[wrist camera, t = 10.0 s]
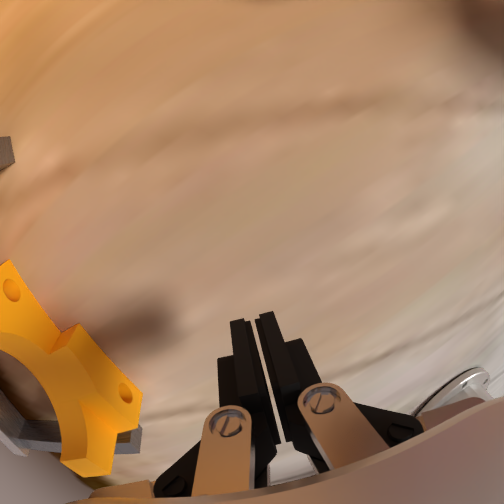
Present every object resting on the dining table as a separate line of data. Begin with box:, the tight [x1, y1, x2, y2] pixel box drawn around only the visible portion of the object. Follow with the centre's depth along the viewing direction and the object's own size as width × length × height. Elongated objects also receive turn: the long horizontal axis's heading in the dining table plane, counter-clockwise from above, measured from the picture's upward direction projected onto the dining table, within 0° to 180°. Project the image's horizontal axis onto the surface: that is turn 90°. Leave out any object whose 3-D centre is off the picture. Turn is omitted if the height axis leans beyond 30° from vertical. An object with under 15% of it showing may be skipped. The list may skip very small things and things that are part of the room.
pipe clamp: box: [0, 259, 143, 477], centre depth 12 cm, size 12×4×6 cm, turn 26°
